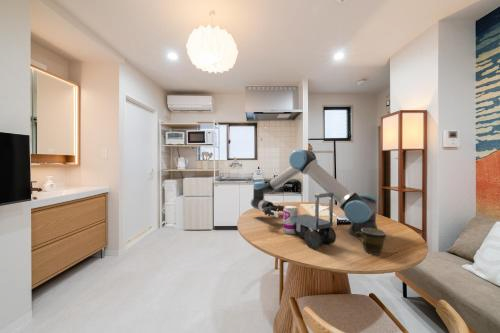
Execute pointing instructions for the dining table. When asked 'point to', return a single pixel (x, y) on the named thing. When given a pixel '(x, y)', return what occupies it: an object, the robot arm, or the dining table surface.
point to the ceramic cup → (372, 240)
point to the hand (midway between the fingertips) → (287, 213)
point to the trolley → (316, 225)
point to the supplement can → (287, 224)
